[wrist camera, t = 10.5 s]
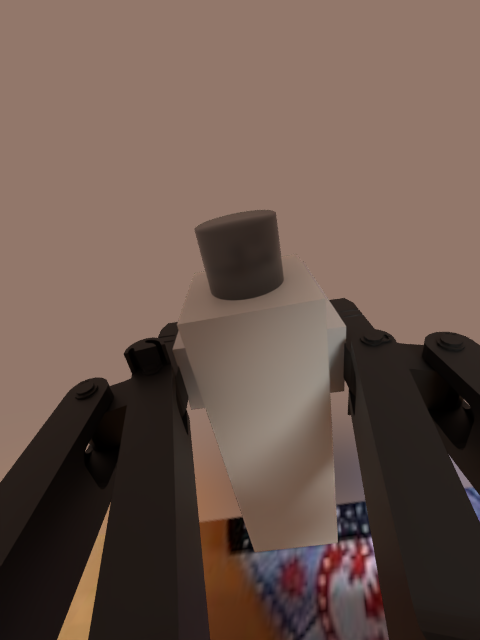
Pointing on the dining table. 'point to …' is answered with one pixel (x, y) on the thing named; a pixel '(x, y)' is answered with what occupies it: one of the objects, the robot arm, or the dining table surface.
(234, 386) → the light grey tall bottle
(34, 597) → the robot arm
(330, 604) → the dining table surface
